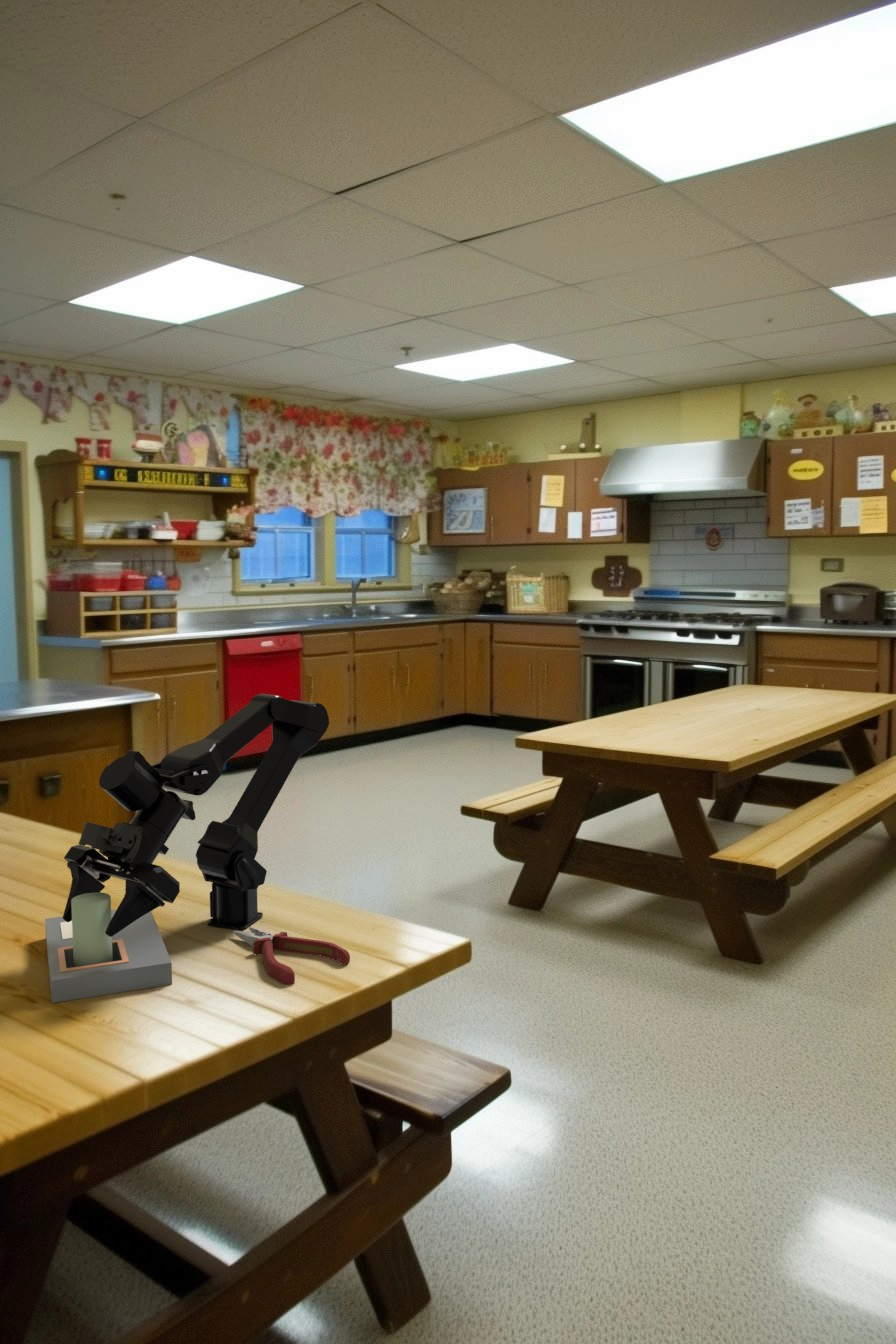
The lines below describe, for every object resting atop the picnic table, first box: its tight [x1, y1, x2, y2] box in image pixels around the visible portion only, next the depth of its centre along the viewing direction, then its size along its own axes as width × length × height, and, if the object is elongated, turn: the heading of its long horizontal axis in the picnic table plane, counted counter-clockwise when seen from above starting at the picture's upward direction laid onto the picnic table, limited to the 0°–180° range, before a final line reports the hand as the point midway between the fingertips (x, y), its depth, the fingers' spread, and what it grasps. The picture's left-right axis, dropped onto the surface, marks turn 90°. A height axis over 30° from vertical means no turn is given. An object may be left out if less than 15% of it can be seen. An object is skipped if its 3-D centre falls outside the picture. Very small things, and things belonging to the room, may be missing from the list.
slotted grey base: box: [44, 909, 173, 1004], centre depth 144 cm, size 24×15×3 cm, turn 23°
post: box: [71, 892, 113, 967], centre depth 138 cm, size 5×5×11 cm
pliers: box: [232, 926, 351, 986], centre depth 146 cm, size 12×20×3 cm, turn 44°
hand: (86, 927), depth 137 cm, fingers open, 9 cm apart
